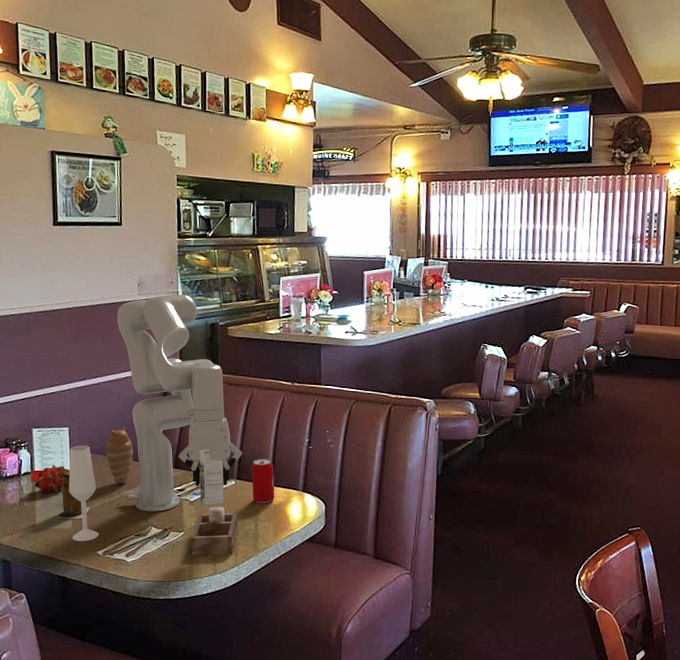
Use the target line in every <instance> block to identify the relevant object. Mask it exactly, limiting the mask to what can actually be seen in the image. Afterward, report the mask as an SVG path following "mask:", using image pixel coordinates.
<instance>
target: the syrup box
mask: <svg viewBox="0 0 680 660" xmlns="http://www.w3.org/2000/svg"><path fill="white" fill-rule="evenodd" d="M208 449H210V448H207V449H200V461H199V463H198V467H199V471H200V484H199V487H200V489H199V495H200V505H201V506H210V505H219V504H224V503H225V498H224V497H225V496H224V495H225V494H224V492H225V491H224V485H223V468H224V465H223V460H210V456H209V453H210V452H208V451H210V450H208Z"/></svg>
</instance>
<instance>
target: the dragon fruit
mask: <svg viewBox="0 0 680 660" xmlns="http://www.w3.org/2000/svg"><path fill="white" fill-rule="evenodd" d="M51 466H52V467H45V468H43V470H42V471H40V472H38V474H37V479H36V482H35V484H34V487H35V488H38V491H39V492H40V493H41V494H42V493H50V492H51V491H54V492H55V493H57V492H58V491H59V490H61V489H62V482H63V473H64V472H66V471H69V470H68V469H67V468H65V466H61V465H60V466H55V464H52V465H51Z"/></svg>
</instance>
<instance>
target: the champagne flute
mask: <svg viewBox="0 0 680 660" xmlns="http://www.w3.org/2000/svg"><path fill="white" fill-rule="evenodd" d="M69 451H70V453H69V470H70V477H69V492H70V493H71V495H72V496H73V497H74V498H76V499H77V500H79V501H81V508H82V518H81V520H82V522H81V523H82V529H81V530H80V531H78V532H77V533H75V534H73V536H72V539H73V541H75V542H76V541H77V542H86V541H92V540H95V539H96V538H97V537H99V532H98V531H95V530H93V529H89V527H88V515H87V513H88V512H87V513H86V507H87V502H86V501H87V500H89V499H90V498H91V497H92V496H93V494H94V493H95V491H96V489H97V485H96V479H95V473H94V468H93V462H92V456H91V450H90V446H88V445H77V446H73V447H71V448H70V449H69Z"/></svg>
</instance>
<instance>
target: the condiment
mask: <svg viewBox="0 0 680 660" xmlns="http://www.w3.org/2000/svg"><path fill="white" fill-rule="evenodd" d="M69 477H70V469H69V470H68V471H66V472H64V473H63V482H62V488H61V489H62V490H61V491H62V493H61V494H62V506H63V507H62V508H63V510H61V512H60V513H59V514H58V515H57V516H56V518H55V519H58V520H59V519H61V520H64V519H65V520H72V519H82V508H81V501H79V500H77V499H76V498H74V497H73V496H72V495H71V493H70V492H69ZM90 508H91V506H89V507H88V506H86V513H88V512H89V510H90Z"/></svg>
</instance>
